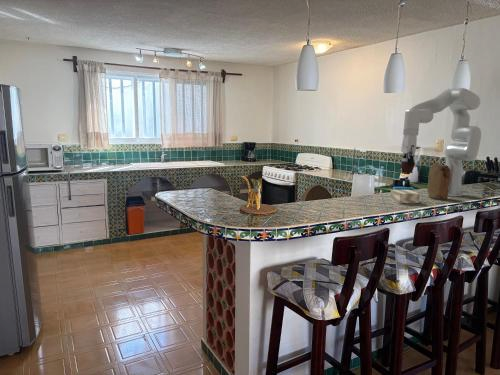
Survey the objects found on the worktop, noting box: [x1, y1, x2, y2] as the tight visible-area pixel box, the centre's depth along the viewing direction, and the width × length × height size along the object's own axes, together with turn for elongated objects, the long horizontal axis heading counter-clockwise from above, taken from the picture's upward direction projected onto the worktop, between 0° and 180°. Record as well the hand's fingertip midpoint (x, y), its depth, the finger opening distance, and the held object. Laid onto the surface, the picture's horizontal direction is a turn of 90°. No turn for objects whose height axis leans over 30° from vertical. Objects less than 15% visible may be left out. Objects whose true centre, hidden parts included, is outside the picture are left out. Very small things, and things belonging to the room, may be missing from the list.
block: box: [427, 164, 451, 201], centre depth 214 cm, size 11×8×20 cm
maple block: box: [389, 189, 420, 205], centre depth 206 cm, size 11×11×6 cm
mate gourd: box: [400, 146, 416, 174], centre depth 201 cm, size 8×8×15 cm
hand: (407, 164), depth 202 cm, fingers closed on mate gourd, 7 cm apart
